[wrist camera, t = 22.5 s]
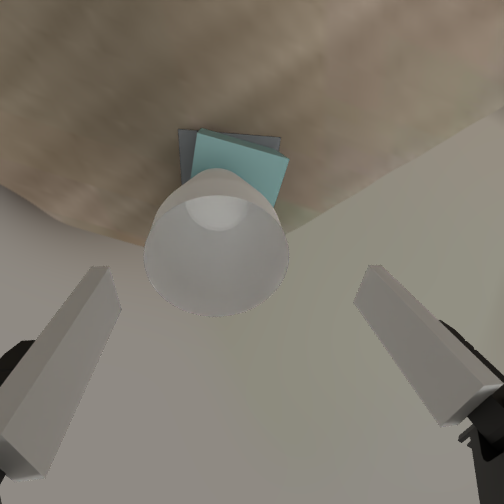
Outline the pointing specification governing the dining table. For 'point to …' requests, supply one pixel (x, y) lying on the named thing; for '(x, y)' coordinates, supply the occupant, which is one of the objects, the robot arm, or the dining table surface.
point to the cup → (216, 246)
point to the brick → (241, 161)
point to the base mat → (189, 136)
